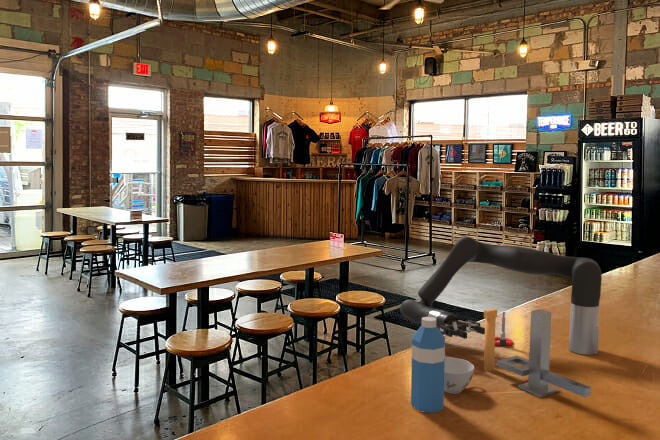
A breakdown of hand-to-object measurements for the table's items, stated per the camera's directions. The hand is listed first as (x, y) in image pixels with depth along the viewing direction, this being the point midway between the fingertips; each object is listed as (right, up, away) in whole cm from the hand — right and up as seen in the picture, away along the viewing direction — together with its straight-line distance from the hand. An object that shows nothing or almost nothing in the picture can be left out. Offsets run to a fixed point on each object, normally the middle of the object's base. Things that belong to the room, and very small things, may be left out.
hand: (475, 333), depth 185 cm
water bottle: (-22, -14, -30) cm, 40 cm away
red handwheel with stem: (+15, -8, +22) cm, 28 cm away
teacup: (-11, -13, -19) cm, 26 cm away
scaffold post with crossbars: (+14, -13, -22) cm, 29 cm away
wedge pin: (+3, -11, -4) cm, 12 cm away
